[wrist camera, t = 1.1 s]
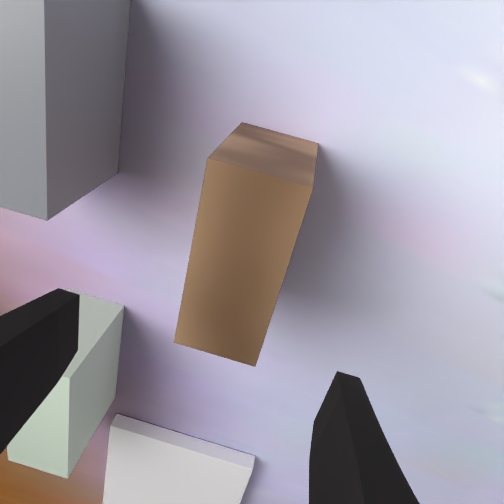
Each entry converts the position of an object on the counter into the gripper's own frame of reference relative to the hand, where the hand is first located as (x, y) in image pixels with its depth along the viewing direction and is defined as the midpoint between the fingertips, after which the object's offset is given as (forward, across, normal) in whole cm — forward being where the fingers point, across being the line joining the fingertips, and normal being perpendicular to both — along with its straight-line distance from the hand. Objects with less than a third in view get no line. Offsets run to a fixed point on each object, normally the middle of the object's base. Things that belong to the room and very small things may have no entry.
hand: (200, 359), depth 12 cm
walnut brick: (+10, 0, 0) cm, 10 cm away
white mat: (+10, +1, +24) cm, 26 cm away
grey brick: (+10, +9, -4) cm, 14 cm away
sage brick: (+10, +8, +12) cm, 18 cm away
